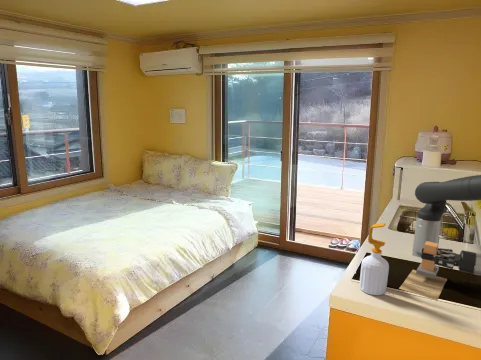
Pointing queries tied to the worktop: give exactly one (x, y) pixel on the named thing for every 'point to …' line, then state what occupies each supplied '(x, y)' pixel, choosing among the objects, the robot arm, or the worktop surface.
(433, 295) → the oak board
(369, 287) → the soap bottle
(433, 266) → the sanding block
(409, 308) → the worktop surface
